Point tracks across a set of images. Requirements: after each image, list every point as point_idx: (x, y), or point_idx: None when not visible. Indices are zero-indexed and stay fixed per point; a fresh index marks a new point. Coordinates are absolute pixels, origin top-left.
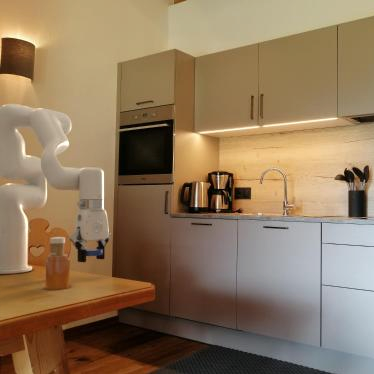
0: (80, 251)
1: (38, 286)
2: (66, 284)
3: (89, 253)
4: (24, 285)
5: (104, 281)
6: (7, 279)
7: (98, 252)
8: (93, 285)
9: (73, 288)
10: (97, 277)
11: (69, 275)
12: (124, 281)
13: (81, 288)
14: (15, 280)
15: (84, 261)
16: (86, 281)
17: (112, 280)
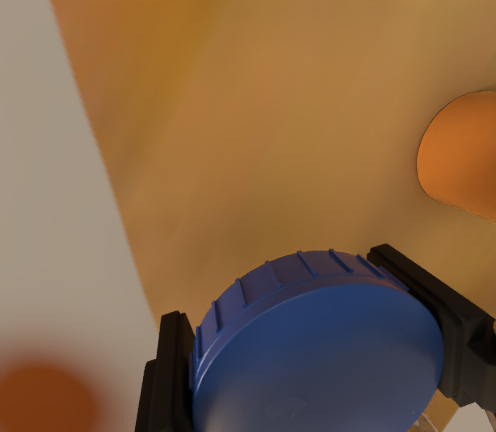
0: (488, 320)
1: (480, 236)
2: (477, 96)
3: (395, 280)
4: (487, 291)
5: (225, 125)
6: (441, 423)
7: (300, 272)
8: (338, 49)
9: (447, 58)
10: (194, 275)
11: (488, 125)
12: (117, 2)
13: (428, 17)
14: (440, 395)
15: (386, 245)
16: (295, 203)
17: (170, 117)
